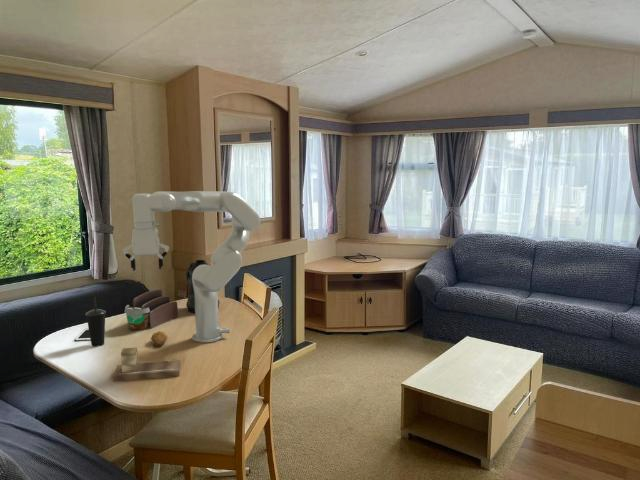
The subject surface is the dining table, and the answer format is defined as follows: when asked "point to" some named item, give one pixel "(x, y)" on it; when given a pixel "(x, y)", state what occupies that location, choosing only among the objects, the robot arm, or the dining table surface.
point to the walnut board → (149, 371)
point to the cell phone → (84, 336)
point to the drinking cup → (96, 325)
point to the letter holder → (157, 307)
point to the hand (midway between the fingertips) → (147, 269)
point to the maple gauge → (129, 359)
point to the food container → (137, 318)
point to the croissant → (159, 338)
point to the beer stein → (191, 298)
